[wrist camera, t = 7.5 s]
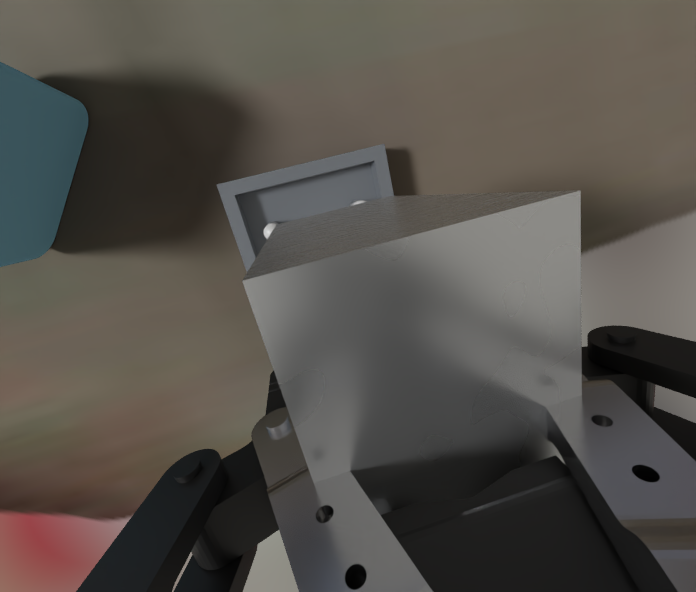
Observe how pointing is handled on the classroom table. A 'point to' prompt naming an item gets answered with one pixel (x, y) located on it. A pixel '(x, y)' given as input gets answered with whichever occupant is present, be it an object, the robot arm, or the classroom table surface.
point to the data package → (35, 162)
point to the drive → (424, 336)
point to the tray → (301, 194)
